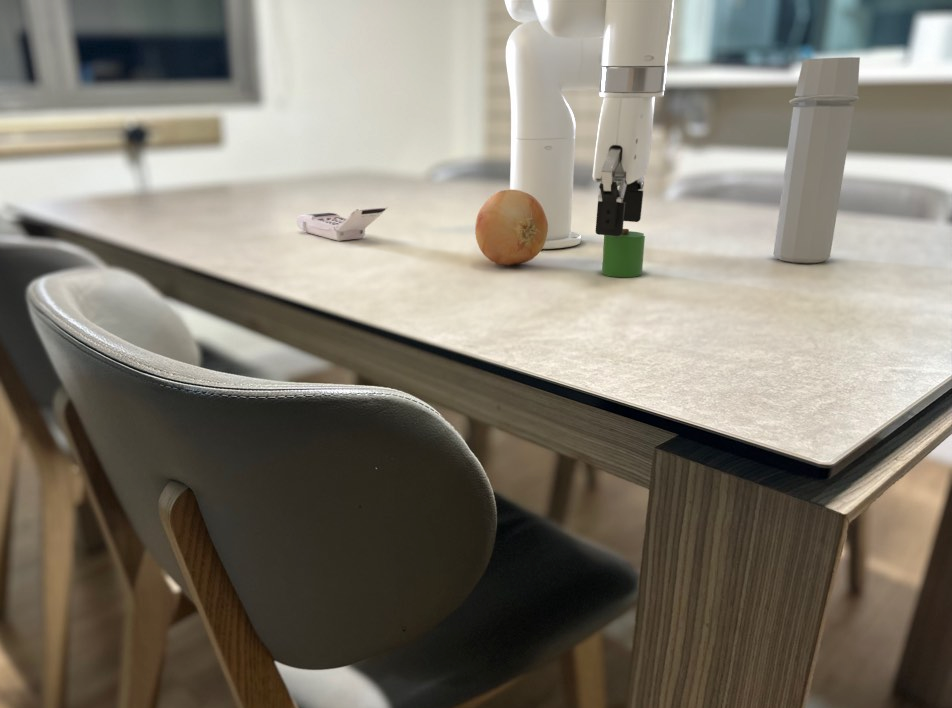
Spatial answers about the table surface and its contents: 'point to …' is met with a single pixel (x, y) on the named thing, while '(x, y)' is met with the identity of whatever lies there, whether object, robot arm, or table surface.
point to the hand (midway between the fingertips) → (618, 227)
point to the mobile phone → (339, 224)
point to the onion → (511, 227)
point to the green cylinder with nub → (623, 254)
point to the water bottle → (816, 158)
